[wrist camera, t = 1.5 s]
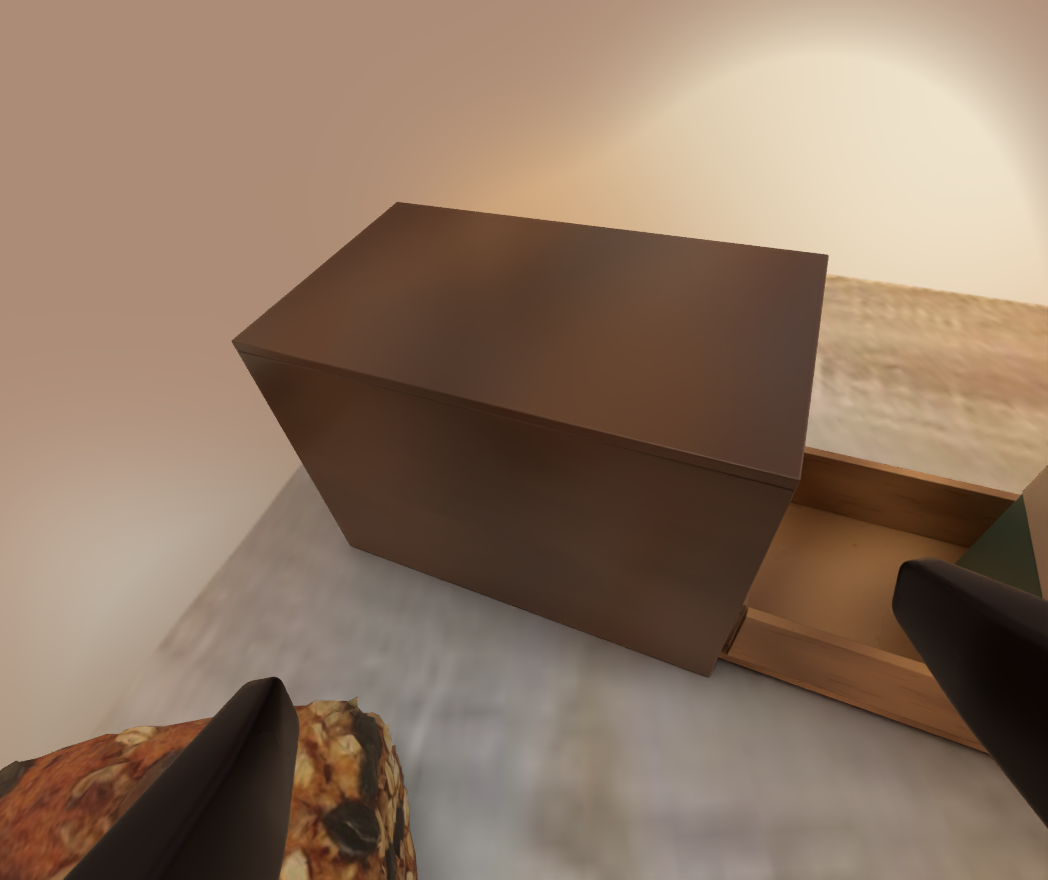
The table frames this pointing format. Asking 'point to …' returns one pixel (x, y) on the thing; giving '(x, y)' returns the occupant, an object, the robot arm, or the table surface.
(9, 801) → the bread
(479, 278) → the brown cupboard
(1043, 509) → the long rectangular block
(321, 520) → the table surface
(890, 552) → the drawer
